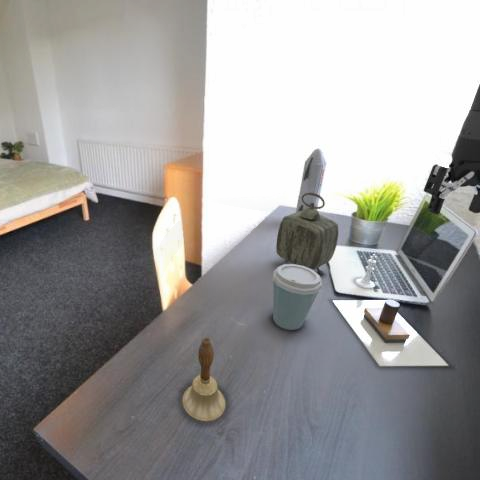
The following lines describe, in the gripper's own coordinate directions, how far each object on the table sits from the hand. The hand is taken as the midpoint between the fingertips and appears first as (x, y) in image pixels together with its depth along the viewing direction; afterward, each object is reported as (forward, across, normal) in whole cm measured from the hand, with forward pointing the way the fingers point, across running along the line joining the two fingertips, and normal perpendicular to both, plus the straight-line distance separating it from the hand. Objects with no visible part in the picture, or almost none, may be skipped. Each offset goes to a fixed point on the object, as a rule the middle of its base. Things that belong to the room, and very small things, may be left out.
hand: (453, 212), depth 72 cm
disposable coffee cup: (+27, -33, -4) cm, 43 cm away
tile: (+27, -12, -7) cm, 30 cm away
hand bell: (+26, -56, -25) cm, 67 cm away
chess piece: (+27, -6, +12) cm, 31 cm away
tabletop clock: (+27, -22, +20) cm, 40 cm away
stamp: (+26, -12, -7) cm, 30 cm away
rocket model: (+28, -8, +54) cm, 61 cm away
